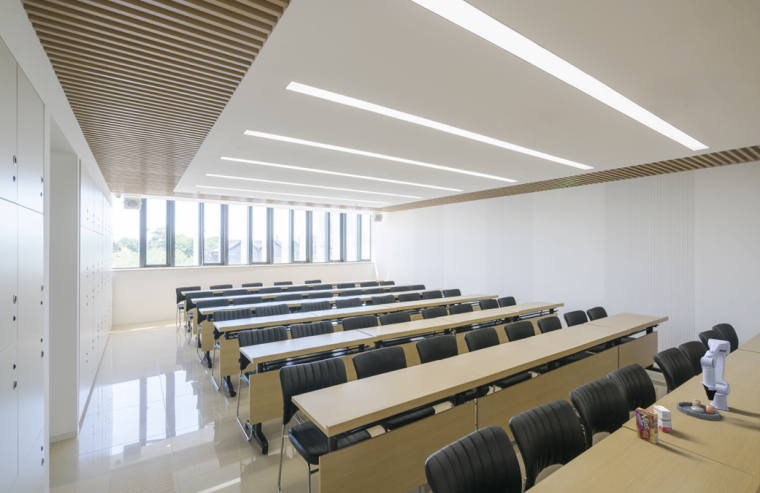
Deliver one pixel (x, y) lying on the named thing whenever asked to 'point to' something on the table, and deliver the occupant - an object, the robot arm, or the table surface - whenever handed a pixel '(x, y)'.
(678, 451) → the table surface
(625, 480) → the table surface
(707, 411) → the terracotta bead
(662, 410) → the ink box
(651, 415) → the candy box
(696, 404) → the birch bead
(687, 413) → the groove tray
